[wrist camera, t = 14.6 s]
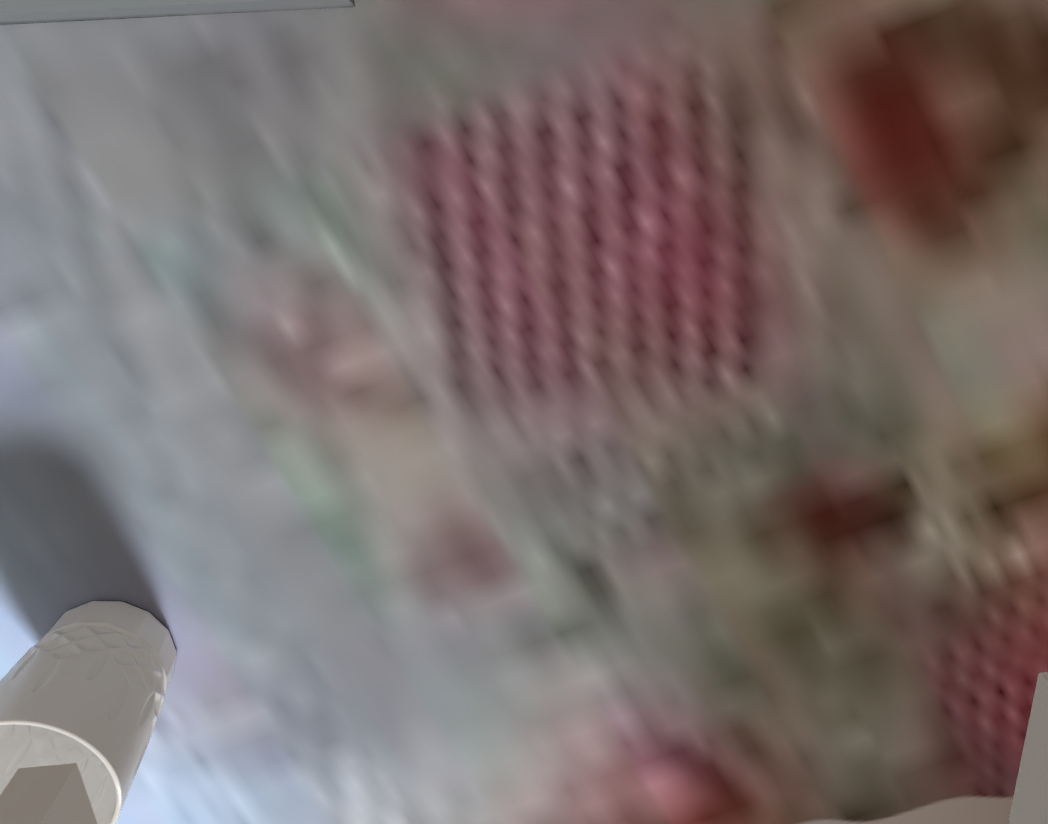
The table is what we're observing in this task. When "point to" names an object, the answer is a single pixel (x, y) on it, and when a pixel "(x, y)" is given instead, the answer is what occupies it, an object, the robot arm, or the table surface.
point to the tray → (143, 8)
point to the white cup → (88, 699)
